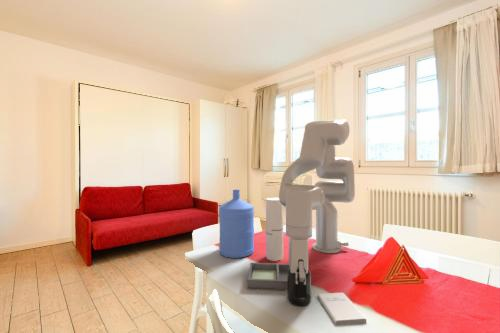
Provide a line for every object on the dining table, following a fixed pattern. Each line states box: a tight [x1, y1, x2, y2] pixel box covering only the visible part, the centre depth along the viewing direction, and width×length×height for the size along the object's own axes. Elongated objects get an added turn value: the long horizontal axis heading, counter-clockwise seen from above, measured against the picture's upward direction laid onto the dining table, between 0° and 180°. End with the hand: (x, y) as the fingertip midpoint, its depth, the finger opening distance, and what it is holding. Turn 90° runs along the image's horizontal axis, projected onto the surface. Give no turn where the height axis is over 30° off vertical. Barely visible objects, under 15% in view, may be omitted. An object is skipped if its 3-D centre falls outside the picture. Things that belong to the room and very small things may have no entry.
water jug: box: [218, 189, 255, 259], centre depth 110 cm, size 16×16×28 cm
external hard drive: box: [317, 292, 367, 325], centre depth 68 cm, size 2×8×12 cm
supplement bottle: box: [286, 268, 312, 307], centre depth 72 cm, size 7×7×12 cm
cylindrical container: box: [265, 197, 284, 262], centre depth 104 cm, size 7×7×25 cm
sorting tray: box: [246, 262, 290, 291], centre depth 85 cm, size 20×13×3 cm, turn 85°
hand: (298, 289), depth 73 cm, fingers closed on supplement bottle, 6 cm apart
